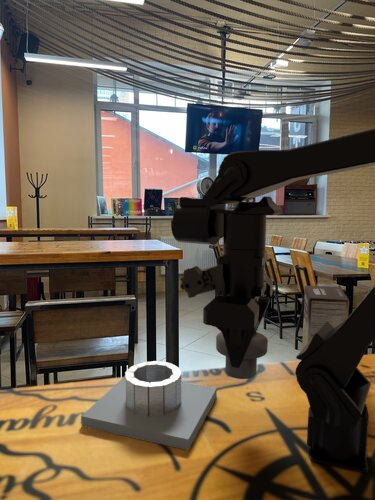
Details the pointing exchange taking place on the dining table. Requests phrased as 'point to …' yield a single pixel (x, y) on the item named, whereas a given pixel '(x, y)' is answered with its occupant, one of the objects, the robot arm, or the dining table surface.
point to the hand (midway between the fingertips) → (241, 356)
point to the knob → (250, 359)
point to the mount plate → (153, 428)
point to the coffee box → (323, 309)
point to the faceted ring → (153, 388)
